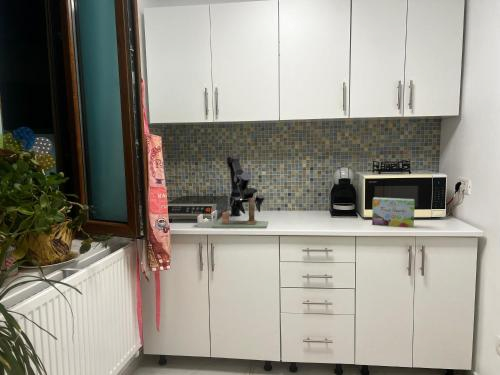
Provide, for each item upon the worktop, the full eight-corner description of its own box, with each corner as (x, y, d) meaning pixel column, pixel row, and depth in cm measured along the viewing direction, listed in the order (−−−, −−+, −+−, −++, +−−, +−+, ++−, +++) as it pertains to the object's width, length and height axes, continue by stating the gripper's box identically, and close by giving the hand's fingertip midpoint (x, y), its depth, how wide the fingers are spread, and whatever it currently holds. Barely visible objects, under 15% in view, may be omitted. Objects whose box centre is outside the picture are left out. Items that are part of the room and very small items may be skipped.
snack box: (371, 225, 201) (372, 198, 200) (372, 223, 207) (373, 196, 205) (413, 228, 193) (414, 199, 191) (413, 225, 198) (414, 198, 196)
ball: (202, 218, 212) (208, 217, 211) (203, 224, 212) (210, 223, 212) (200, 219, 208) (207, 218, 207) (202, 226, 208) (208, 225, 208)
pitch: (203, 222, 217) (202, 209, 216) (268, 222, 213) (267, 209, 212) (197, 227, 203) (196, 213, 203) (266, 228, 199) (266, 213, 198)
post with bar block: (223, 222, 211) (222, 197, 210) (256, 222, 209) (256, 197, 207) (221, 223, 206) (220, 198, 205) (255, 224, 204) (255, 198, 202)
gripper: (232, 183, 204) (240, 205, 195) (262, 181, 211) (271, 202, 202) (228, 195, 212) (235, 217, 203) (257, 193, 219) (265, 214, 211)
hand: (252, 212), depth 205 cm, fingers open, 9 cm apart
